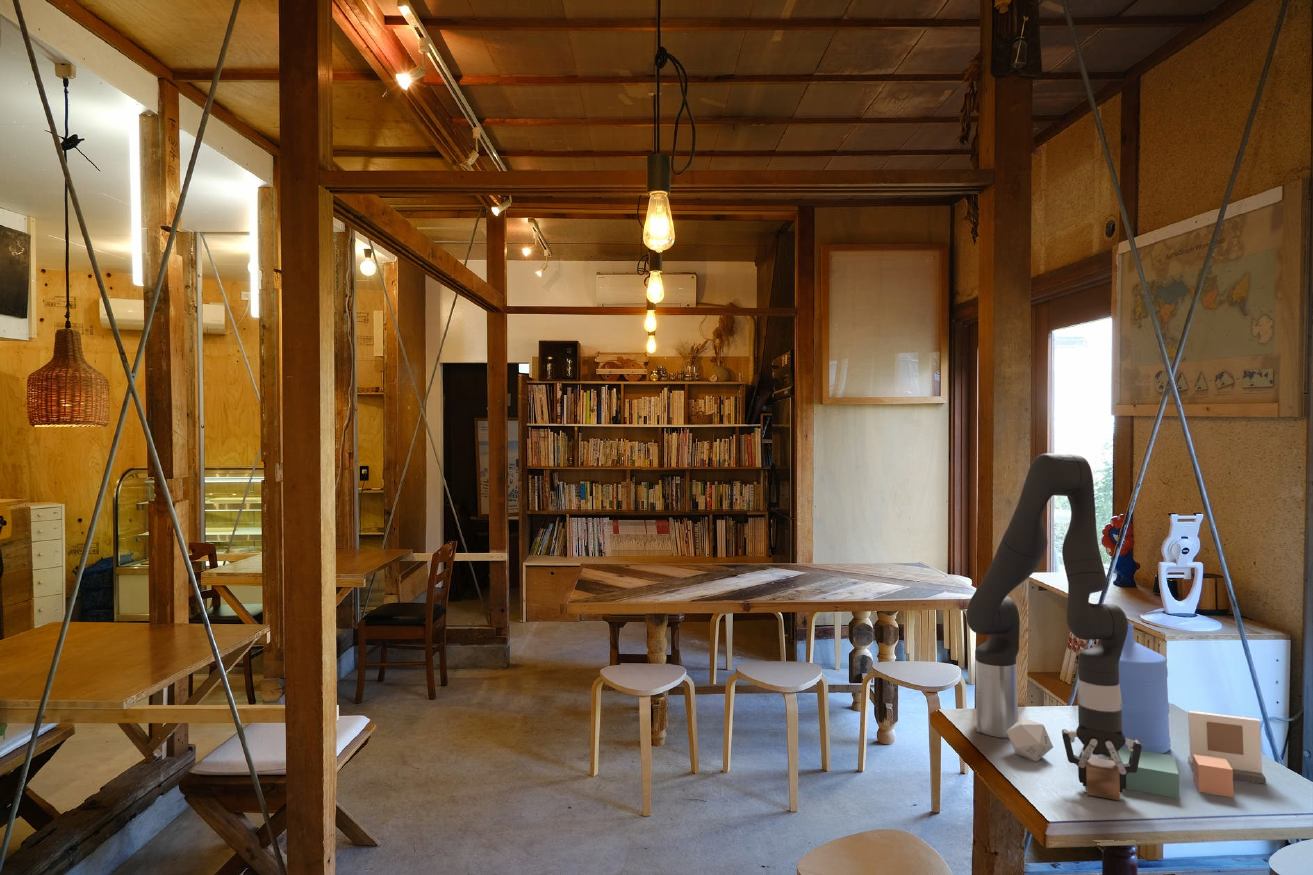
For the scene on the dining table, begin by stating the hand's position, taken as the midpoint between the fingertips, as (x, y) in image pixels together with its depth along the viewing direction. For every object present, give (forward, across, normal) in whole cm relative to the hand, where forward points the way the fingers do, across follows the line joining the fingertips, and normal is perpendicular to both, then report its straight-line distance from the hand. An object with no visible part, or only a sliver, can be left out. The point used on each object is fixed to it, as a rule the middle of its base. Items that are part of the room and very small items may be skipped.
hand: (1102, 787), depth 143 cm
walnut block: (+1, 0, 0) cm, 1 cm away
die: (+2, +13, -14) cm, 19 cm away
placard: (+1, -24, -22) cm, 33 cm away
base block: (+2, -9, -9) cm, 13 cm away
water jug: (+1, -8, -32) cm, 33 cm away
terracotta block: (+1, -20, -12) cm, 23 cm away
